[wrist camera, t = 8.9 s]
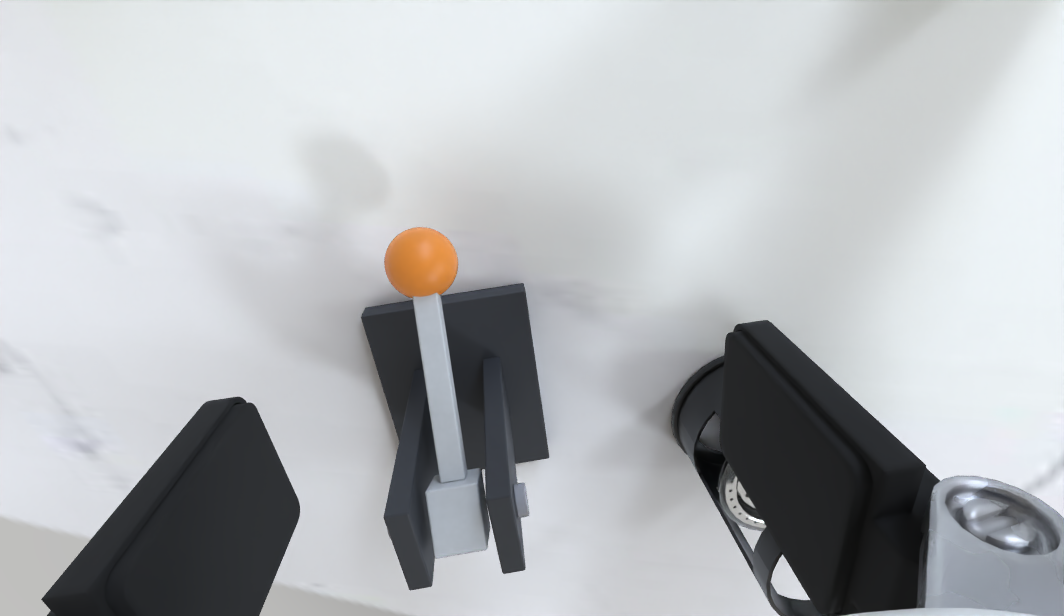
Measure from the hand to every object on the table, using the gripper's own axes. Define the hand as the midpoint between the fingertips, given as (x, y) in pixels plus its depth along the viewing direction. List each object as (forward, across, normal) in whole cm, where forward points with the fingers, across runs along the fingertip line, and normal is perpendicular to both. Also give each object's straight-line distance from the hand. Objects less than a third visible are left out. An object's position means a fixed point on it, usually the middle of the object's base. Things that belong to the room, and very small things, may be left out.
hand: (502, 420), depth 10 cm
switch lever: (+12, +3, +7) cm, 14 cm away
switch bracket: (+18, +4, +11) cm, 21 cm away
